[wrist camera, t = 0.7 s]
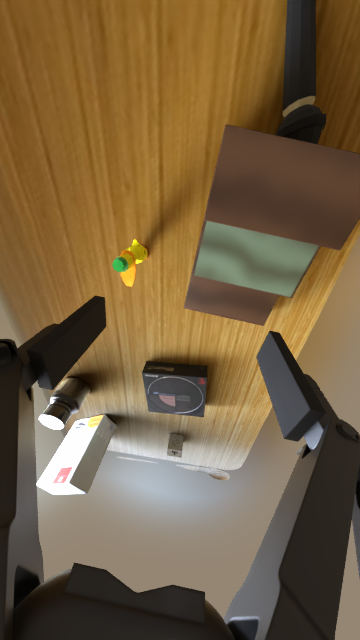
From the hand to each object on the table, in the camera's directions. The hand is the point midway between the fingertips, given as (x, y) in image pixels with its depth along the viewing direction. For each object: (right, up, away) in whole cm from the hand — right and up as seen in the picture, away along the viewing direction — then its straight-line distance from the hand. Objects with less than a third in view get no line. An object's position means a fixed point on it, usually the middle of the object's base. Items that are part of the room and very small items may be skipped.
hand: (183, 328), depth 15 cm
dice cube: (-2, -43, +55) cm, 70 cm away
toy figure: (-7, +14, +21) cm, 26 cm away
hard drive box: (-32, -38, +56) cm, 75 cm away
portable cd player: (-1, -18, +40) cm, 44 cm away
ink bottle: (-33, -21, +46) cm, 60 cm away
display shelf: (+11, +13, +19) cm, 25 cm away
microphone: (+14, +31, +7) cm, 35 cm away
